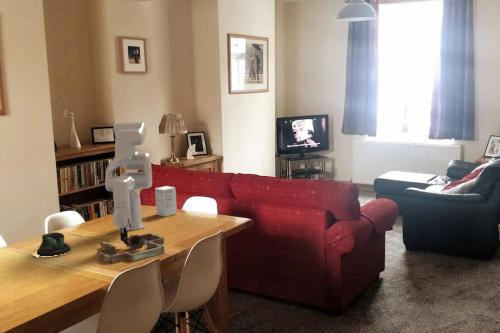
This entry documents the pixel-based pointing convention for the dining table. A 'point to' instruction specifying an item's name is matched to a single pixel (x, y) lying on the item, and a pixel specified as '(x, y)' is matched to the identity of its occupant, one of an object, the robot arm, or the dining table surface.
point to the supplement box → (166, 201)
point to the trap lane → (110, 256)
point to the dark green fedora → (53, 245)
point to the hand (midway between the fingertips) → (124, 240)
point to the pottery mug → (134, 242)
